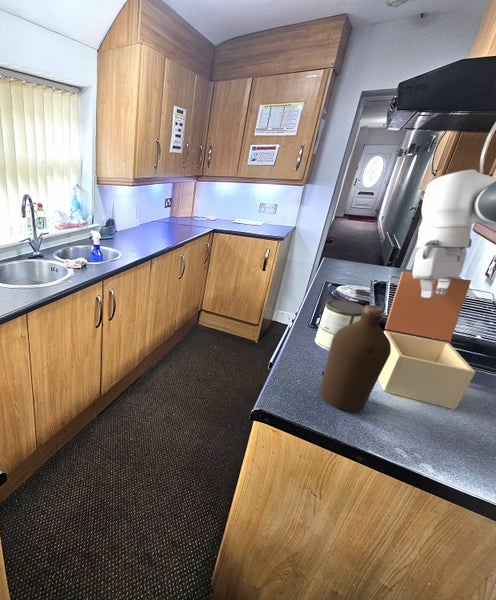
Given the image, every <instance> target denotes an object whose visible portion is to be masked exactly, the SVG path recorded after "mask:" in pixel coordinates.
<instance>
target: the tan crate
mask: <svg viewBox="0 0 496 600" xmlns="http://www.w3.org/2000/svg"><path fill="white" fill-rule="evenodd" d="M383 332H384V334H385V335H386V336H387V338H388V339H389V341H390V345H391V352H390V356H389V358H388V360H387V362H386V364H385V366H384V368H383V369H382V371H381V373H380V375H379V377H378V379H377V380H378V381H379V383H380V386H381V388H382V390H383V392H385V393H389V394H393V395H397V396H400V397H404V398H408V399H412V400H416V401H420V402H424V403H428V404H432V405H435V406H439V407H443V408H447V409H451V410H456V409H457V407H458V405H459V404H460V401H461V400H462V398H463V396H464V394H465V392H466V390H467V389H468V387H469V385H470V384H471V381H472V380H473V378H474V376H475V375H476V371H475V369H473V367H471V365H470V364H469V363H468V362H467V361H466V360H465V358H463V356H461V354H460V353H459V352H458V351H457V350H456V349H455V348H454V347H453V345H452V344H451V342H448V341H443V340H438V339H432V338H427V337H422V336H417V335H412V334H406V333H401V332H396V331H391V330H383Z"/></svg>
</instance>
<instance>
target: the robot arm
mask: <svg viewBox="0 0 496 600" xmlns="http://www.w3.org/2000/svg"><path fill="white" fill-rule="evenodd" d="M420 212H421V216H422V220H421V223H420V225H419V228H418V235H417V241H416V248H417V251H416V254H415V258H414V263H413V267H412V273H413V278H414V279H421V282H420V284H421V289H422V293H421V296H422V297H425V298H430V297H433V293H434V290H433V284H434V281H435V279H438V281H439V282H438V287H437V288H436V293H435V294H436V295H446V294H447V291H448V287H449V285H450V283H451V279H452V278H458V277H460V275H461V274H462V272H463V269H464V265H465V261H466V257H467V253H468V249H470V248H471V247H472V243H473V241H472V238H471V231H472V226H473V224H482V225H483V224H484V225H488V226H496V177H495V176H491V175H488V174H484V173H481V172H479V171H478V170H476V169H474V168H473V169H472V168H466V169H459V170H455V171H450V172H446V173H444V174H441V175H438V176H437V177H435V178H434V179H432V180H431V181H430V182H428V184H427V186H426V189H425V192H424V196H423V199H422V204H421V211H420Z"/></svg>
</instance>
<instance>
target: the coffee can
mask: <svg viewBox="0 0 496 600" xmlns="http://www.w3.org/2000/svg"><path fill="white" fill-rule="evenodd" d="M324 303H325V305H324V309H323V312H322V315H321V319H320V323H319V325H318V329H317V332H316V336H315V339H314V342H315V344H317V346H319V347H321V348H322V349H324V350H327V351H330V347H331V343H332V339H333V337H334V335H335V334H336V333H337V331H338V330H339V329H341V328H342V327H344V326H347V325H349V324H352V323H355V322H357V321H359V320H360V318H361V315H362V312H363V311H364V310H365V309H364V308H365V306H363V305H362V304H360V303H357V302H353V301H350V300H345V299H335V298H334V299H328V300H326V301H325V302H324Z"/></svg>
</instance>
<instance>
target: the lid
mask: <svg viewBox="0 0 496 600" xmlns="http://www.w3.org/2000/svg"><path fill="white" fill-rule="evenodd" d="M420 282H421V279H414V278H413V272H408V271H401V273H400V276H399V280H398V283H397V287H396V289H395V294H394V296H393V300H392V303H391V307H390V310H389V312H388V313H389V314H388V316H387V319H386V323H385V327H384V329H385V330H386V331H392V332H397V333H402V334H407V335H413V336H418V337H423V338H429V339H434V340H439V341H444V342H451V341H452V338H453V335H454V332H455V329H456V327H457V323H458V321H459V318H460V315H461V312H462V309H463V306H464V303H465V300H466V297H467V294H468V291H469V288H470V285H471V282H472V279H463V278H458V277H452V279H451V283H450V285H449V287H448V291H447V294H446V295H436V294H435V293H436V288H437V287H438V282H439V281H438V279H435V281H434V284H433V290H434V293H433V297H430V298H425V297H422V296H421V293H422V289H421V284H420Z"/></svg>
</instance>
